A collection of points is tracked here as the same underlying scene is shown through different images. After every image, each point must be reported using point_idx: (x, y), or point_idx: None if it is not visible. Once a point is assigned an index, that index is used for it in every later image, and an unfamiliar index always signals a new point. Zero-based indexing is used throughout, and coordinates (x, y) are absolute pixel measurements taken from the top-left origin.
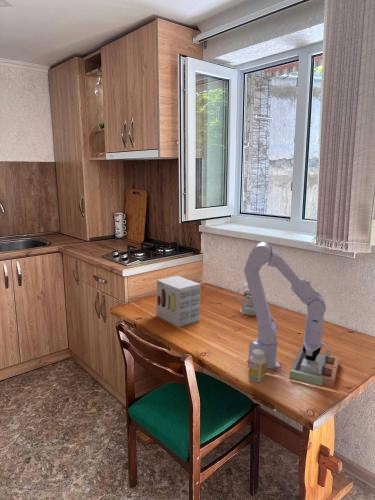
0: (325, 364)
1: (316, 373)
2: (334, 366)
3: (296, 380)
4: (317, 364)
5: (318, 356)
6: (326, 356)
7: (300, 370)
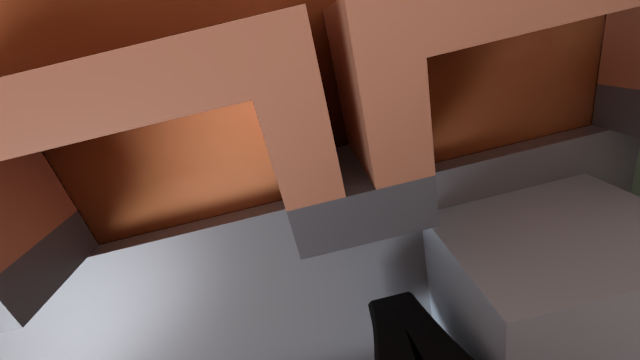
0: (328, 218)
1: (603, 209)
2: (287, 68)
3: None
4: (608, 303)
5: (24, 350)
6: (15, 309)
7: None
